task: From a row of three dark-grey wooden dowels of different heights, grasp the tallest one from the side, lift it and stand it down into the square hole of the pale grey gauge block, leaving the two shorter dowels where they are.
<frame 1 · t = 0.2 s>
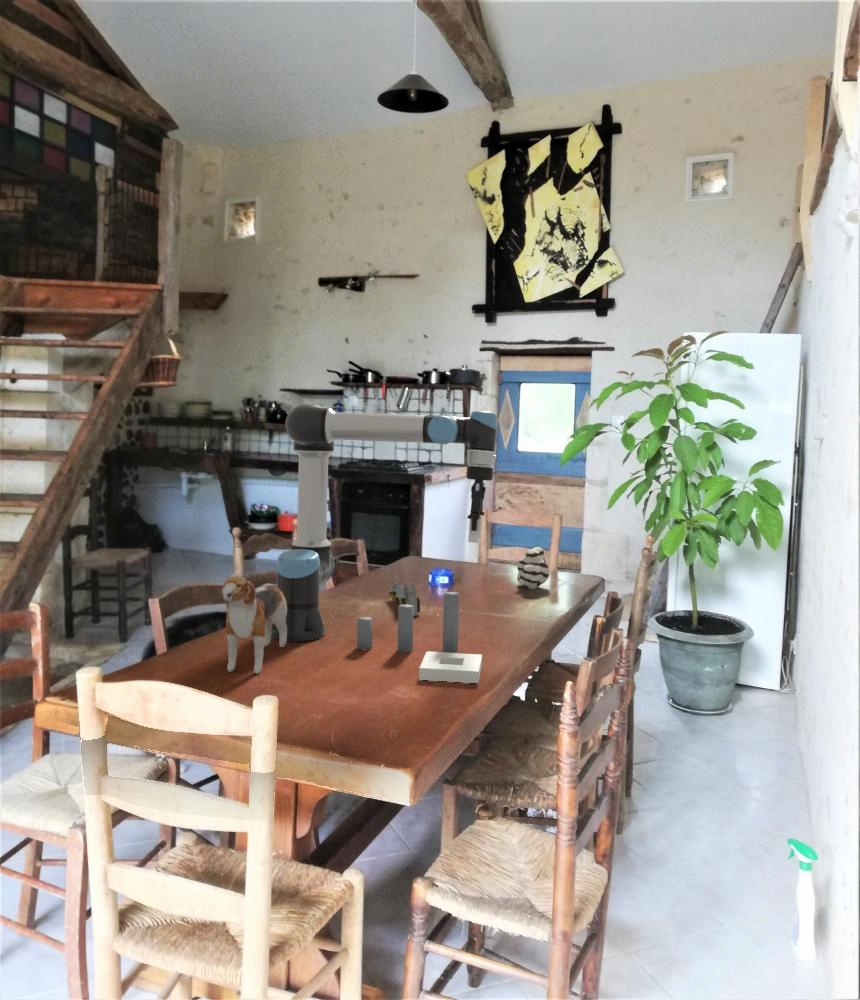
hand: (474, 540, 231), 27 cm above the table, tool pointing down, fingers open, 13 cm apart
sculpture: (532, 589, 299), on the table
short dowel: (364, 648, 216), on the table
dog model: (256, 663, 201), on the table
tall dowel: (449, 653, 213), on the table
medium dowel: (405, 650, 215), on the table
toy: (403, 608, 264), on the table
gauge block: (451, 673, 196), on the table
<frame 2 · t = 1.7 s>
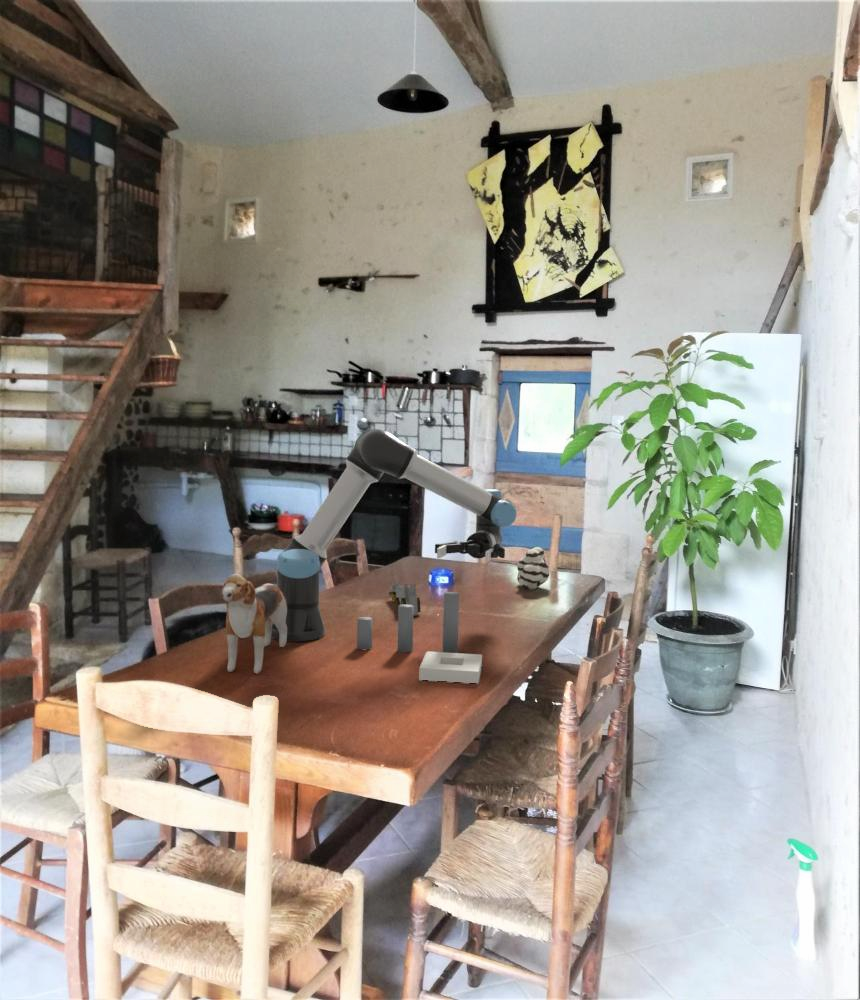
hand: (462, 555, 220), 25 cm above the table, tool horizontal, fingers open, 13 cm apart
nothing on the table moved.
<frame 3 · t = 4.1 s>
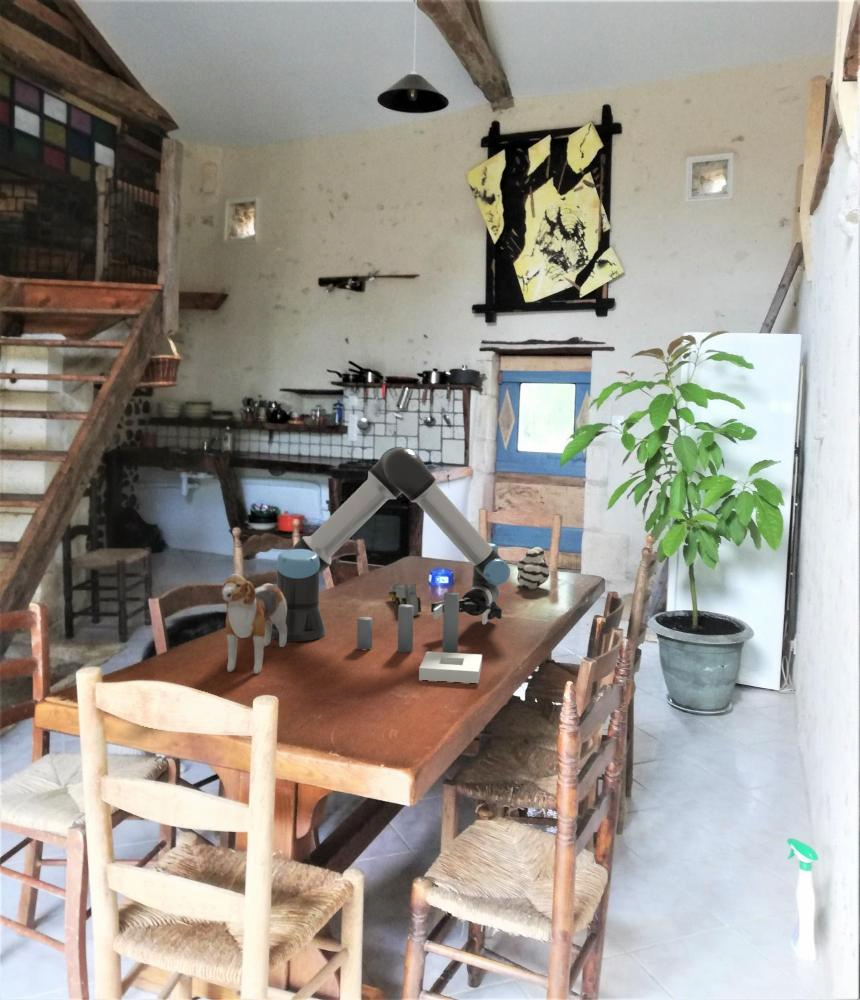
hand: (458, 616, 218), 8 cm above the table, tool horizontal, fingers open, 13 cm apart
nothing on the table moved.
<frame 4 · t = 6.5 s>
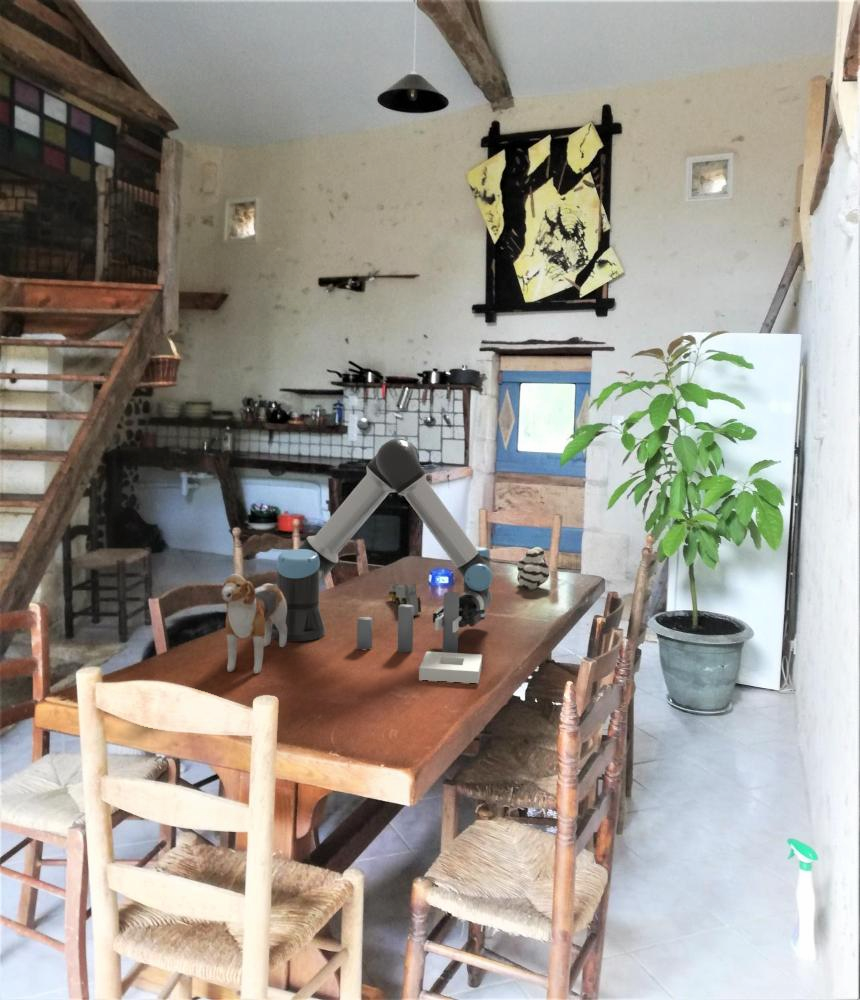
hand: (445, 626, 207), 8 cm above the table, tool horizontal, fingers closed on tall dowel, 4 cm apart
tall dowel: (449, 653, 213), on the table, touching gripper
everything else where it was.
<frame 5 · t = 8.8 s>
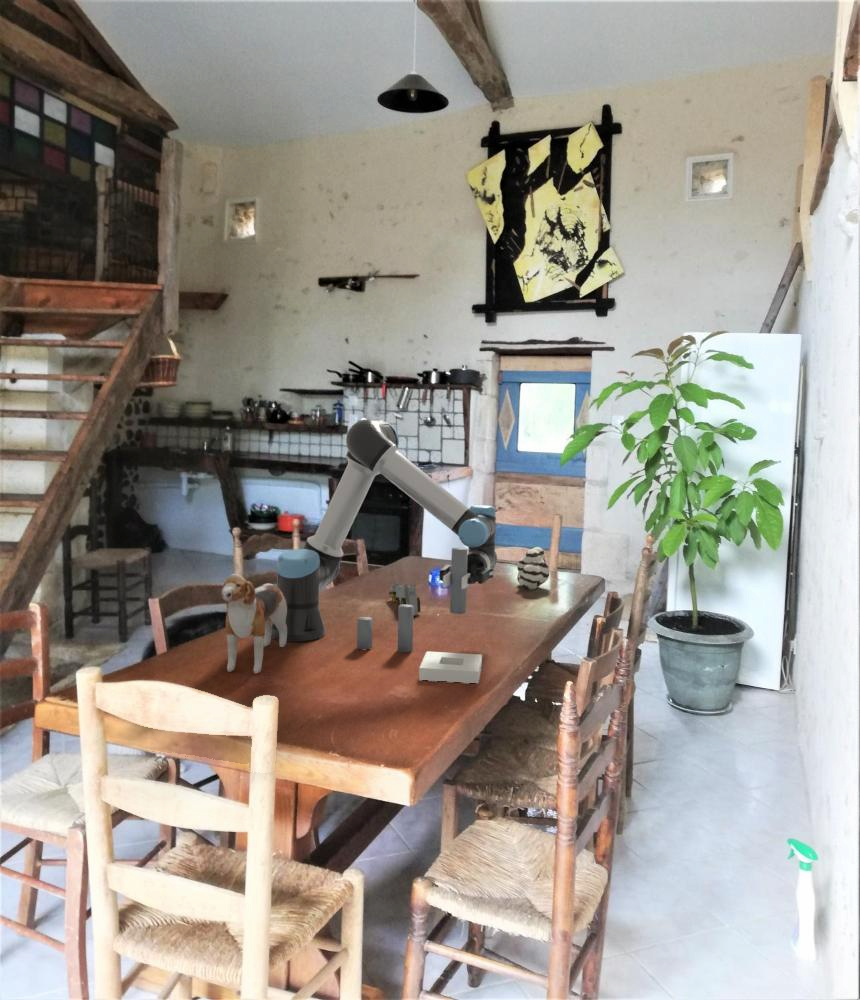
hand: (453, 582, 196), 22 cm above the table, tool horizontal, fingers closed on tall dowel, 4 cm apart
tall dowel: (457, 611, 203), point 13 cm above the table, touching gripper
everything else where it was.
when the fingers open (10 cm above the table, at t = 11.2 s): tall dowel stays where it is, resting in gauge block.
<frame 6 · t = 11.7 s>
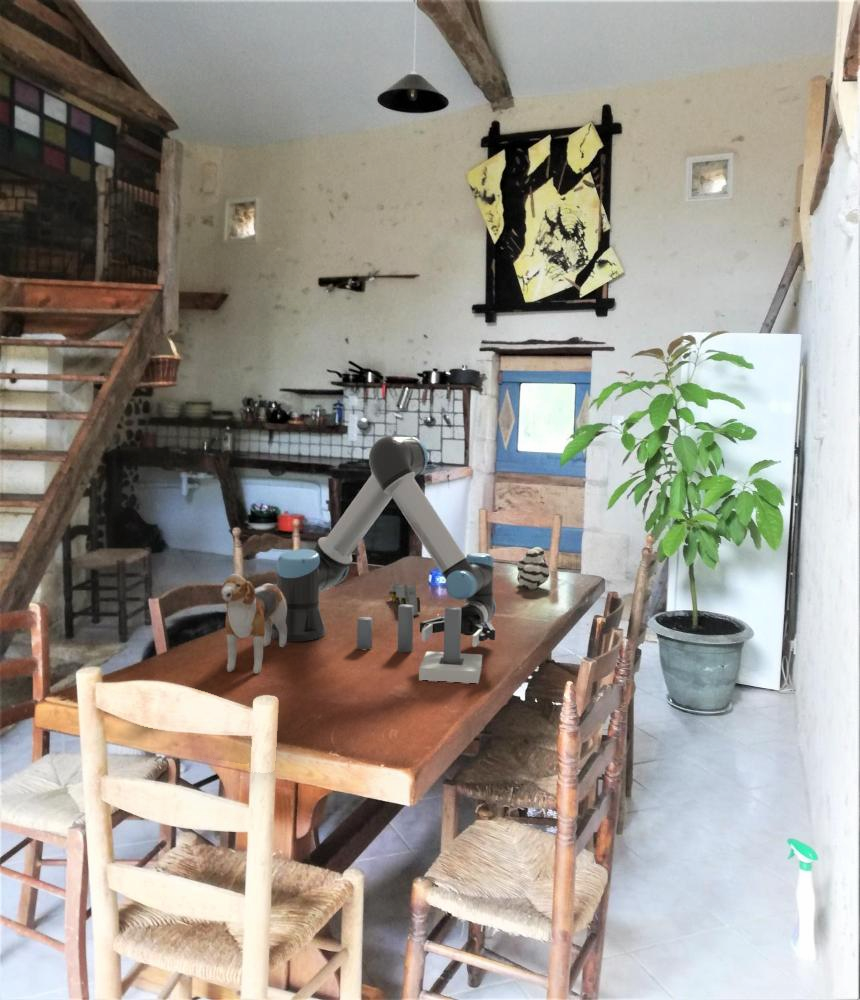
hand: (448, 638, 192), 10 cm above the table, tool horizontal, fingers open, 12 cm apart
tall dowel: (451, 673, 196), resting in gauge block
everything else where it was.
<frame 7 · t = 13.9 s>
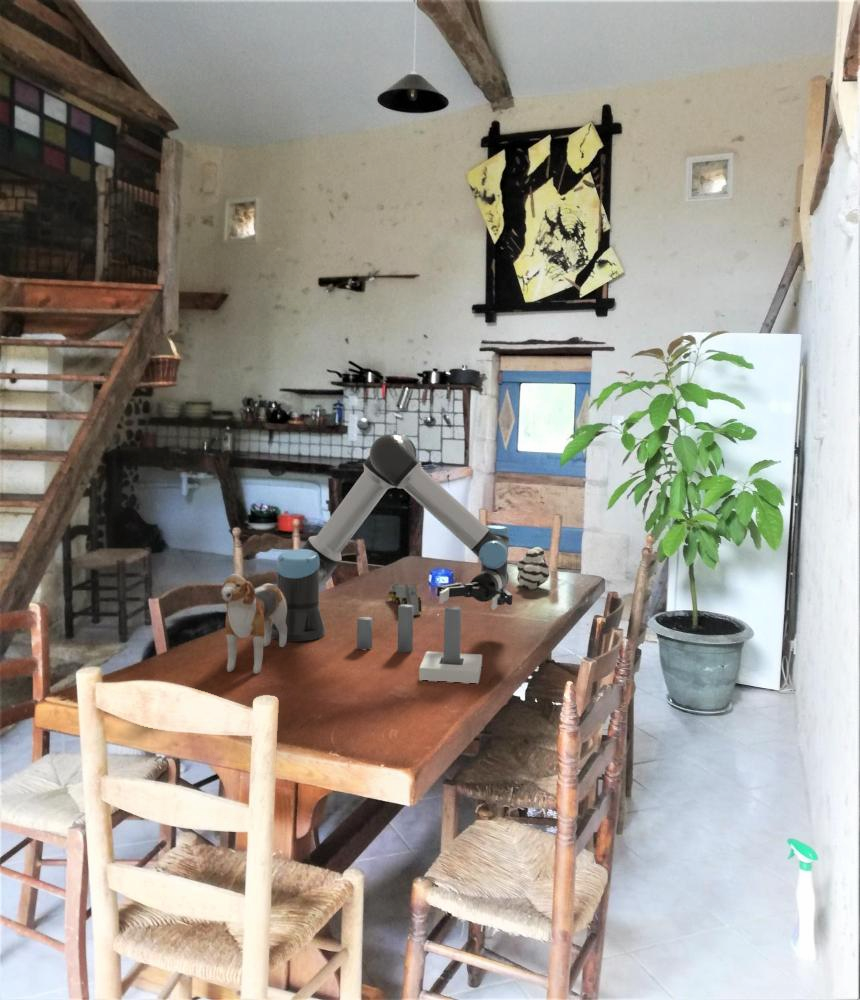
hand: (466, 601, 204), 16 cm above the table, tool horizontal, fingers open, 13 cm apart
nothing on the table moved.
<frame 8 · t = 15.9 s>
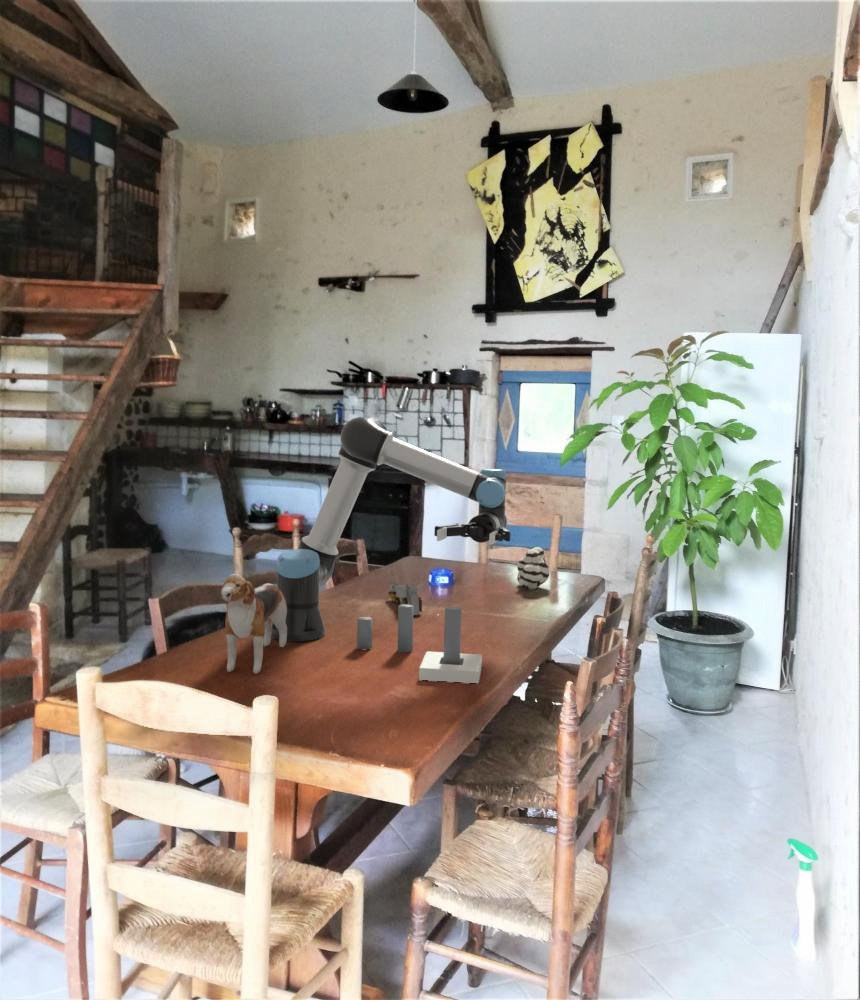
hand: (464, 537, 202), 32 cm above the table, tool horizontal, fingers open, 13 cm apart
nothing on the table moved.
at the end: tall dowel 0.0 cm off-centre on the gauge block, point 0.0 cm above the gauge block's base; tall dowel tilted 0°; the gripper is holding nothing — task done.
